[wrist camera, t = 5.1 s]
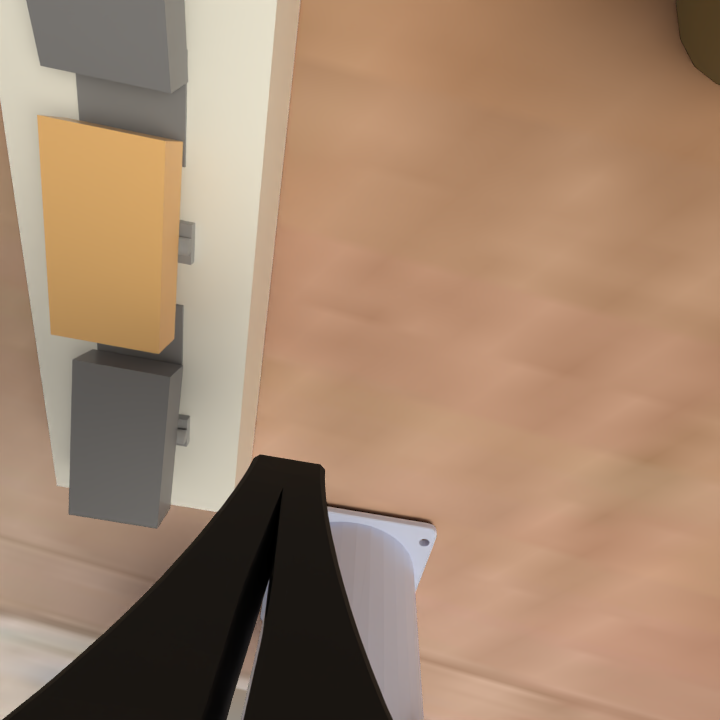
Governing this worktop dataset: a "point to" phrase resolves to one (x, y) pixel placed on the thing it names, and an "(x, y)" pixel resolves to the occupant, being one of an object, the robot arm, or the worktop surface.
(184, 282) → the rocker switch panel
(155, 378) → the block
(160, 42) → the block
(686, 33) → the olive-brown rounded piece
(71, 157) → the rocker middle
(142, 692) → the robot arm
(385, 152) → the worktop surface
